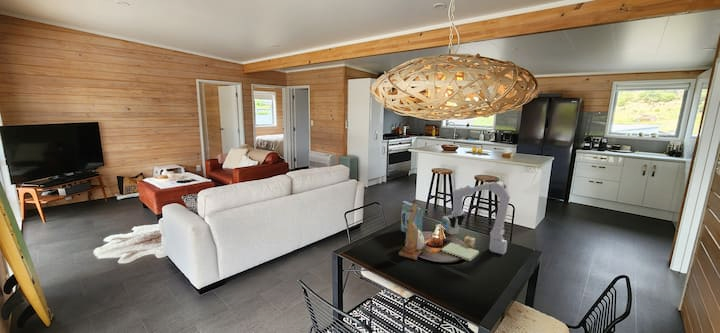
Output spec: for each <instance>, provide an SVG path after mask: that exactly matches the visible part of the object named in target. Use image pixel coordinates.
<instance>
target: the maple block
mask: <svg viewBox="0 0 720 333" xmlns="http://www.w3.org/2000/svg"><path fill="white" fill-rule="evenodd" d="M475 244H476V237H473V236H470V235H467V236H465V237H464V240H463V246H466V247H468V248H471V249H474V248H475Z"/></svg>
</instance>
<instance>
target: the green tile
mask: <svg viewBox="0 0 720 333" xmlns="http://www.w3.org/2000/svg"><path fill="white" fill-rule="evenodd" d="M441 250H442V251H441ZM440 251H441V252H442V253H445V252H446V253H445V254H448V253H449V254H448V255H450V254H452V255H451V256H453V255H455V256H454V257H456V256H458V257H457V258H459V257H461V258H460V259H463V260H465V261H469V262H471V261H472V260H473V259H475V257H477V256H478V255H479V254H480V251H479V250H478V249H474V248H473V249H471V248H467V247H464V245H460V244H457V243H454V242H449V243H448V244H447V245H445V246H444V247H442V248H441V249H440Z"/></svg>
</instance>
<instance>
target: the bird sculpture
mask: <svg viewBox="0 0 720 333" xmlns="http://www.w3.org/2000/svg"><path fill="white" fill-rule="evenodd" d="M418 206H419V204H418V203H417V202H414V203H413V205H412V206H409V209H408V210H409V211H413V212H412V214H411V216H410V218H409V221H408V225H407V236H406V235H405V241H406V240H407V242H406V245H404V246H403V247H402V249H401V250H399V252H398V256H401V257H404V258H408V259H412V260H415V261H417V260H418V256H419V255H420V254H423V251H424V250H422V249H420V250H416V247H417V238H418V228H417V226H416V224H415V223H414V222H413V221H414V218H415V214H416V212H417V210H418ZM407 243H408V245H407ZM416 251H417V252H416Z"/></svg>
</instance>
